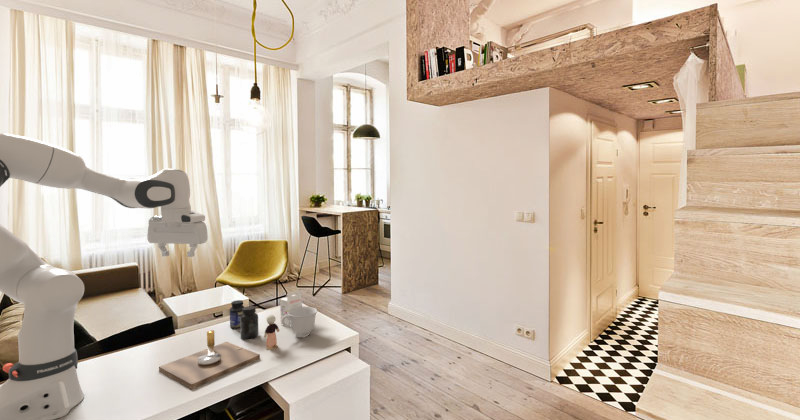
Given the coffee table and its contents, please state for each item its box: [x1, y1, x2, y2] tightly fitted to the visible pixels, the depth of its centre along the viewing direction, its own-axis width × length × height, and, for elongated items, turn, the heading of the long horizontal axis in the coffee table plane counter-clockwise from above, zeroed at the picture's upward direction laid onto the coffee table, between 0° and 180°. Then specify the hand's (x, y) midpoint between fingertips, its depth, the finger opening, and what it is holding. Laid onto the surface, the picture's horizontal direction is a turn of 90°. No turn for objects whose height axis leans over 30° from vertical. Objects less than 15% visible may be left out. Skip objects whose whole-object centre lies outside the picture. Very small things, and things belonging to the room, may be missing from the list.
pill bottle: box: [229, 299, 245, 330], centre depth 162 cm, size 6×6×11 cm
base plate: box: [158, 341, 261, 390], centre depth 128 cm, size 24×20×2 cm
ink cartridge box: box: [279, 289, 303, 325], centre depth 167 cm, size 9×5×15 cm, turn 147°
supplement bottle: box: [239, 305, 259, 341], centre depth 151 cm, size 7×7×12 cm
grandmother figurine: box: [263, 314, 280, 351], centre depth 141 cm, size 8×4×13 cm, turn 168°
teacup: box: [282, 306, 318, 338], centre depth 153 cm, size 12×15×10 cm
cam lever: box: [198, 329, 221, 366], centre depth 130 cm, size 14×7×6 cm, turn 27°
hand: (178, 256), depth 129 cm, fingers open, 8 cm apart
